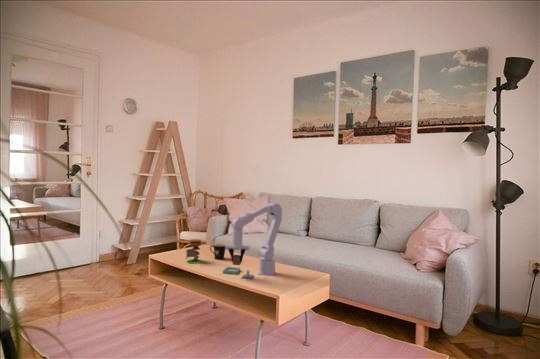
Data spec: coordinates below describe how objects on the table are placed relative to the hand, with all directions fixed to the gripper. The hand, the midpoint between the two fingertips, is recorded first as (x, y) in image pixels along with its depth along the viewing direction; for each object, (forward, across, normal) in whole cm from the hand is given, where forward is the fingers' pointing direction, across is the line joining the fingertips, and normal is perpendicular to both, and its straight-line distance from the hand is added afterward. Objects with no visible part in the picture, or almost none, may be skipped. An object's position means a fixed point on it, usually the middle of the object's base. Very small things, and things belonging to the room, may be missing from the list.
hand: (236, 261), depth 215 cm
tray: (+9, +4, -9) cm, 14 cm away
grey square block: (+9, -7, +1) cm, 11 cm away
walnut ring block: (+2, 0, 0) cm, 2 cm away
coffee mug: (+9, +20, -42) cm, 47 cm away
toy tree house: (+9, +34, -30) cm, 46 cm away
